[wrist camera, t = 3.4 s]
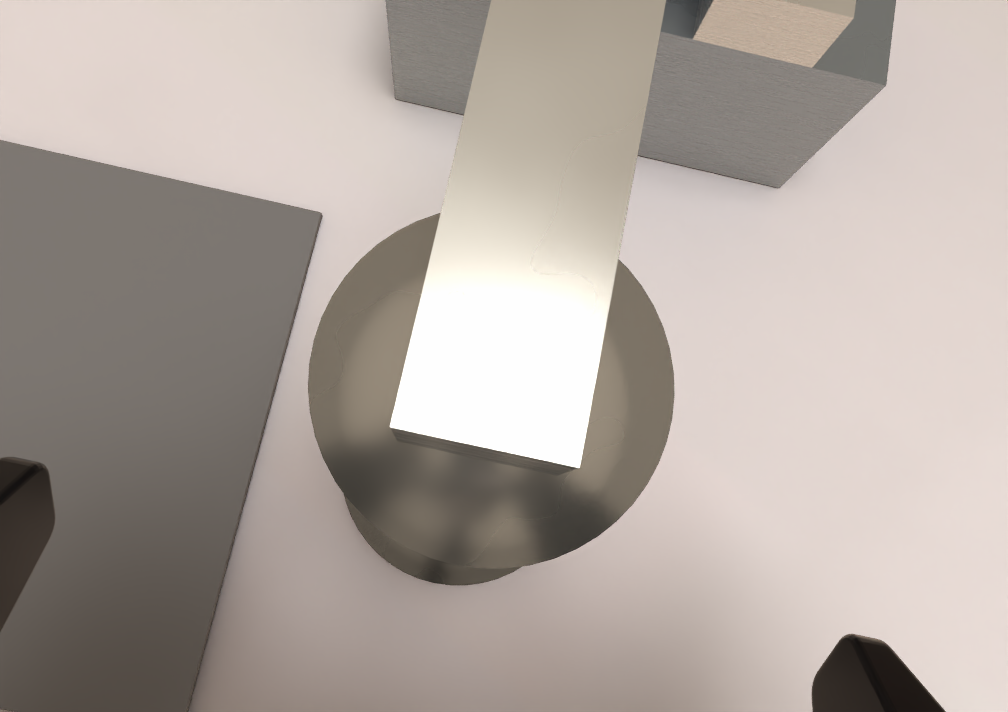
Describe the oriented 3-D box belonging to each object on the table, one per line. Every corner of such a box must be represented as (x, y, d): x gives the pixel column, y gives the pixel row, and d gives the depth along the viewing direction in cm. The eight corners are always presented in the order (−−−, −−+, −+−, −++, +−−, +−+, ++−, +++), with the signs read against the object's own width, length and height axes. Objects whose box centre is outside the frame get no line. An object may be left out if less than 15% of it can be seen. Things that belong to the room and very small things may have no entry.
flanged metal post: (547, 603, 18) (799, 800, 6) (319, 556, 18) (40, 646, 5) (597, 336, 19) (893, 2, 7) (385, 289, 19) (287, -143, 7)
